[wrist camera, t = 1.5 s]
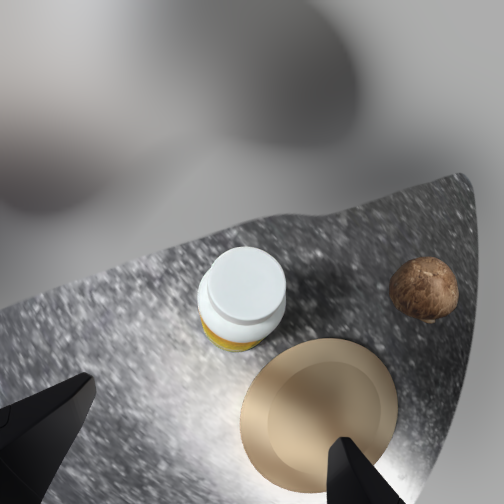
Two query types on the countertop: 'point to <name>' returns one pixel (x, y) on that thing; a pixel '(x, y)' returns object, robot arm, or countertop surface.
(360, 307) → the countertop surface
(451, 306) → the mushroom
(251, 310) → the supplement bottle
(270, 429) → the plate
